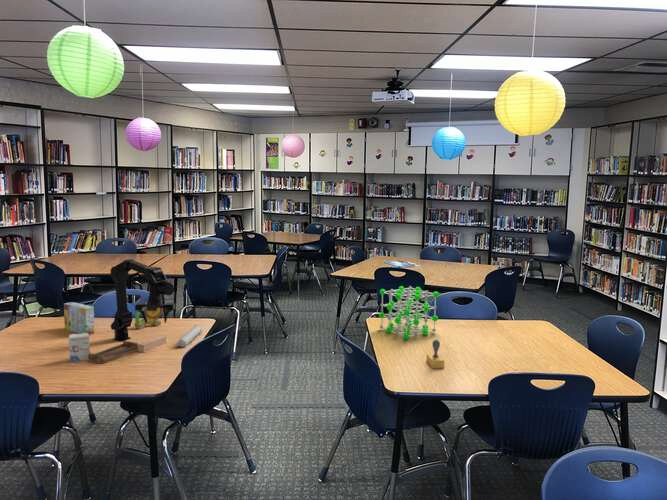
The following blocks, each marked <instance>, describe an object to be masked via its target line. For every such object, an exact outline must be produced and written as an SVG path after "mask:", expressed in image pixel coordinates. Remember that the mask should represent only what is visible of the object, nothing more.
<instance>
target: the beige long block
mask: <svg viewBox="0 0 667 500" xmlns="http://www.w3.org/2000/svg"><path fill="white" fill-rule="evenodd" d="M166 344H167V336H166V335H158V336H156V337H153V338H150V339H147V340H145V341H142V342H140V343H139V342H138V344H137V345H138V350H137V352H139V353H146V352H149V351H152V350H154V349H157V348H159V347H161V346H163V345H166Z"/></svg>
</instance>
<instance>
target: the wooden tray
mask: <svg viewBox="0 0 667 500" xmlns="http://www.w3.org/2000/svg"><path fill="white" fill-rule="evenodd" d="M137 344H139V342H134V341H127V340H124V341H122V343H120V344H119V345H118V344H117V345H115V346H113V347H110V348H107V349H105V350H102V351H98V352H95V353H91V352H90V353H89V354H88V357H89V359H88V362H93V363H97V364H103V365H104V364H106V363H108V362H111V361H113V360H116V359H118V358H121V357H124V356H127V355H129V354H131V353H133V352H136V351H138V345H137Z"/></svg>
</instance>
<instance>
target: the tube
mask: <svg viewBox="0 0 667 500" xmlns="http://www.w3.org/2000/svg"><path fill="white" fill-rule="evenodd" d="M202 332H203V327H202V326H200V325H199V324H194V326H193V327H192V328H191V329H190V330H188V331H187V332H186V333H185V334H183V336H182V337H179V339H178V341H177V345H178V347H179V348H186V347H187V346H188V345H189V344H190V343H191V342H192V341H193V340H195V339H197V337H198V336H199V335H201V333H202Z"/></svg>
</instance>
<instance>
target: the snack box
mask: <svg viewBox="0 0 667 500" xmlns="http://www.w3.org/2000/svg"><path fill="white" fill-rule="evenodd" d="M63 312H64V313H63V316H64V318H63V320H64V330H67V331H71V332H75V333H76V334H81V333H89V335H93V334H95V307H94V306H91V305H87V304H82V303H78V302H73V301H71V302H66V303H63Z"/></svg>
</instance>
